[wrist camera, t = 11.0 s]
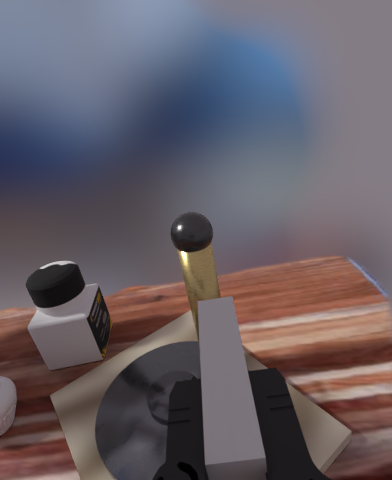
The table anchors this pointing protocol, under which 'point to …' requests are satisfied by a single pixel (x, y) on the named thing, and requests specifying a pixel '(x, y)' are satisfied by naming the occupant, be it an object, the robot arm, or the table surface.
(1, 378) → the grey piece
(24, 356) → the table surface
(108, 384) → the stand
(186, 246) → the brass rod on disc
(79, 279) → the medicine bottle
